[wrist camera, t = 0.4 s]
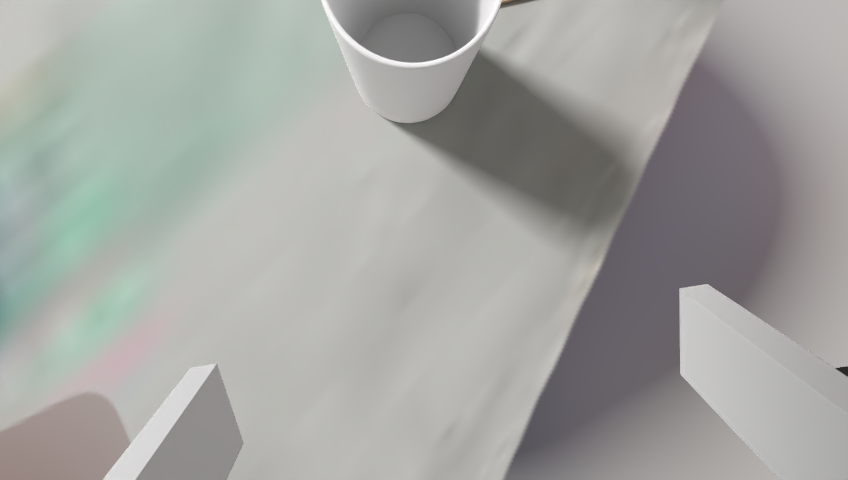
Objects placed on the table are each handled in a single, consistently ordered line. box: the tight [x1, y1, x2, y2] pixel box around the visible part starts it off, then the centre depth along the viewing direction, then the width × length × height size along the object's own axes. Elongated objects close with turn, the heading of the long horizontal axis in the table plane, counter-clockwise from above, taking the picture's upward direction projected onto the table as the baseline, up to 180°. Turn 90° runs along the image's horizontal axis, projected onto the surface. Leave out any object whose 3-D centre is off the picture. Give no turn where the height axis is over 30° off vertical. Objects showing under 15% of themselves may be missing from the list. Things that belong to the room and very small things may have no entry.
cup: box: [321, 0, 502, 123], centre depth 29 cm, size 8×8×16 cm
